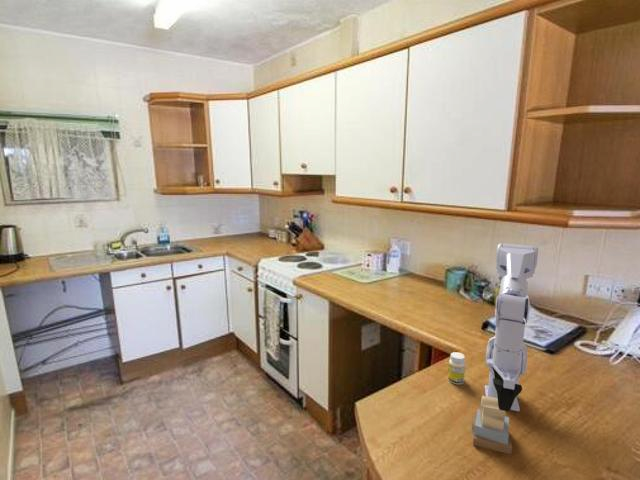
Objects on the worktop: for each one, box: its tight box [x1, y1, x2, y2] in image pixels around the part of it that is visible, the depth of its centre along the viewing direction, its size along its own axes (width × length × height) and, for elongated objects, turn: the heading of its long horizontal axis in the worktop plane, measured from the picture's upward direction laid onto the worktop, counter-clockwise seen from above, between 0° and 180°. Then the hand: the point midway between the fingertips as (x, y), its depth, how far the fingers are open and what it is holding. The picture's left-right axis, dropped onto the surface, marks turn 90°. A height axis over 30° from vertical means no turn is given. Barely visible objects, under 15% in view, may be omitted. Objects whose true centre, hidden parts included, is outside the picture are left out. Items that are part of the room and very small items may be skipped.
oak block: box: [480, 395, 506, 430], centre depth 86 cm, size 4×4×5 cm
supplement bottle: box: [447, 351, 466, 385], centre depth 110 cm, size 5×5×8 cm
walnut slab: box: [471, 416, 513, 455], centre depth 87 cm, size 8×8×2 cm
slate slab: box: [474, 408, 510, 445], centre depth 87 cm, size 7×7×2 cm
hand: (502, 399), depth 85 cm, fingers open, 7 cm apart
